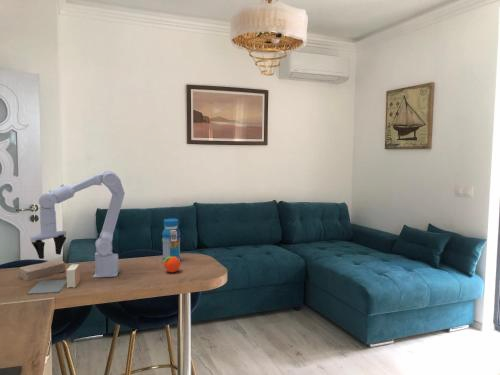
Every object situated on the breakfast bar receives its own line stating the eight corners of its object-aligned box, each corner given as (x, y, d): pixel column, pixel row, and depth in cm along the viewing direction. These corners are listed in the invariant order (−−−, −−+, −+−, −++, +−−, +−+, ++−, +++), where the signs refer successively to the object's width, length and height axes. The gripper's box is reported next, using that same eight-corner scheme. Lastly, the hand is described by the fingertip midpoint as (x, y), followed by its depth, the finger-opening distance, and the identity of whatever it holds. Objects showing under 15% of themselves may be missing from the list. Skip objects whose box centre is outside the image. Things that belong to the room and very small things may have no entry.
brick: (26, 281, 170) (26, 270, 169) (17, 277, 175) (17, 266, 174) (66, 272, 182) (65, 262, 182) (56, 269, 188) (56, 258, 187)
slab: (80, 281, 170) (79, 264, 169) (75, 287, 162) (74, 269, 161) (71, 281, 169) (71, 264, 169) (67, 287, 161) (66, 270, 161)
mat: (68, 280, 170) (68, 279, 170) (59, 292, 156) (59, 291, 156) (40, 281, 168) (39, 280, 168) (27, 294, 154) (27, 293, 154)
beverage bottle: (159, 262, 197) (159, 220, 195) (166, 258, 206) (165, 217, 204) (176, 263, 196) (176, 221, 194) (182, 258, 204) (182, 218, 202)
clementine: (167, 275, 177) (167, 259, 176) (159, 272, 182) (158, 256, 181) (183, 272, 182) (183, 256, 182) (175, 268, 187) (174, 253, 187)
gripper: (57, 219, 176) (59, 251, 177) (24, 225, 163) (26, 259, 165) (69, 220, 172) (70, 253, 174) (36, 226, 160) (38, 261, 161)
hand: (50, 256), depth 169 cm, fingers open, 7 cm apart
